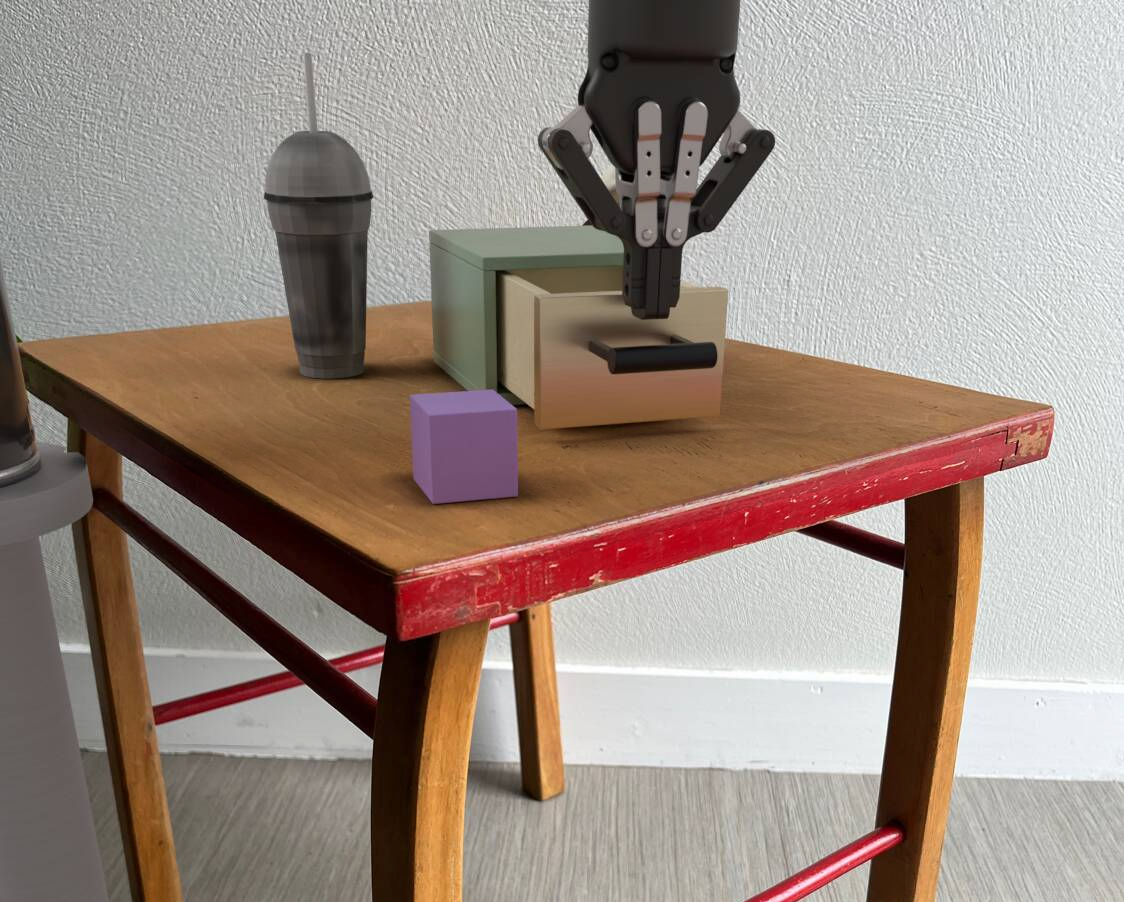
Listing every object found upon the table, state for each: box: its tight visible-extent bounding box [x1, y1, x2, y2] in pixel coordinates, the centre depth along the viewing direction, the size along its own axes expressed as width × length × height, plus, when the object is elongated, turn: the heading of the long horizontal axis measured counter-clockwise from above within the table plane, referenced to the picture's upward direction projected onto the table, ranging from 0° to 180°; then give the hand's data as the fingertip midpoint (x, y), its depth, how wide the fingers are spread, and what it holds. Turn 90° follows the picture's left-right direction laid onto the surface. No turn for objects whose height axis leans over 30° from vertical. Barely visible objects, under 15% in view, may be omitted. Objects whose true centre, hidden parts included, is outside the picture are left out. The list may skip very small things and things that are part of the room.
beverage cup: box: [263, 52, 374, 380], centre depth 87 cm, size 7×7×20 cm
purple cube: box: [409, 389, 519, 505], centre depth 66 cm, size 4×4×4 cm
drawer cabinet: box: [428, 225, 624, 406], centre depth 88 cm, size 15×13×9 cm
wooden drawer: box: [495, 266, 729, 431], centre depth 78 cm, size 18×11×7 cm, turn 18°
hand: (649, 316), depth 71 cm, fingers closed
